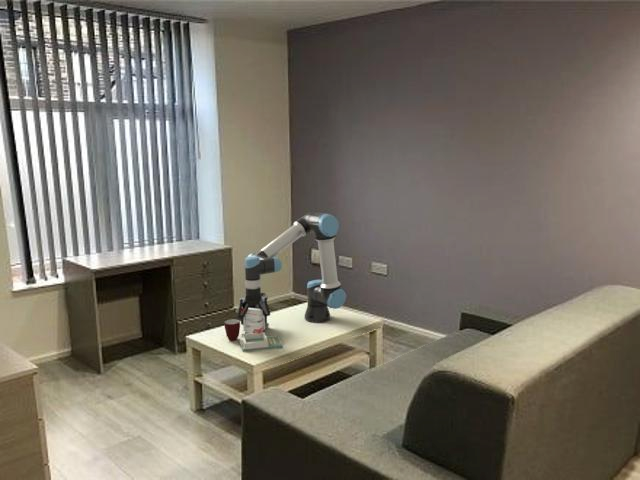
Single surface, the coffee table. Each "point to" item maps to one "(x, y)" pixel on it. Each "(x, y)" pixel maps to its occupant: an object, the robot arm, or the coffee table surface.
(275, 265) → the robot arm
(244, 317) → the electrical component
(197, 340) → the coffee table surface
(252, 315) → the ink box
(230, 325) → the mug
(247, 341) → the board
